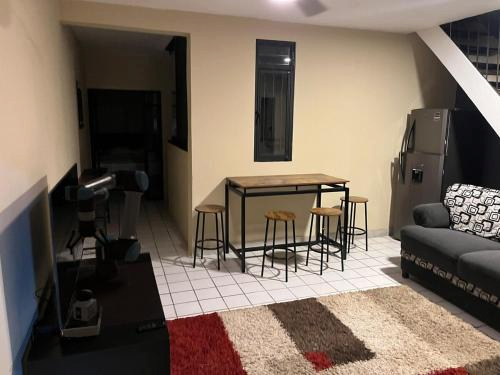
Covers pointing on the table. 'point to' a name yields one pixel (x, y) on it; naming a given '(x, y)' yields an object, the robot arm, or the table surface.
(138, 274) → the table surface
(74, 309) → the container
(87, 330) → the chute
